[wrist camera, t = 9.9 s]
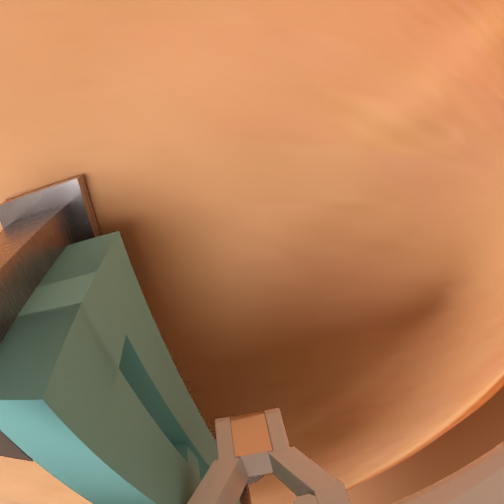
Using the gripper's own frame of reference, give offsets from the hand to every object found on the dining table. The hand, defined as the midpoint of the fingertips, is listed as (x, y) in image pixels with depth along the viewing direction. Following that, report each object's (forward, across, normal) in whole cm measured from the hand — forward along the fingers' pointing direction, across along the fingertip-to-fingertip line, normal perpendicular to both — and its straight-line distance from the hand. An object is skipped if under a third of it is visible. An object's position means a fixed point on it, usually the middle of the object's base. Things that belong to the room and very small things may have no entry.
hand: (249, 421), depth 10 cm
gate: (+2, +3, +1) cm, 4 cm away
